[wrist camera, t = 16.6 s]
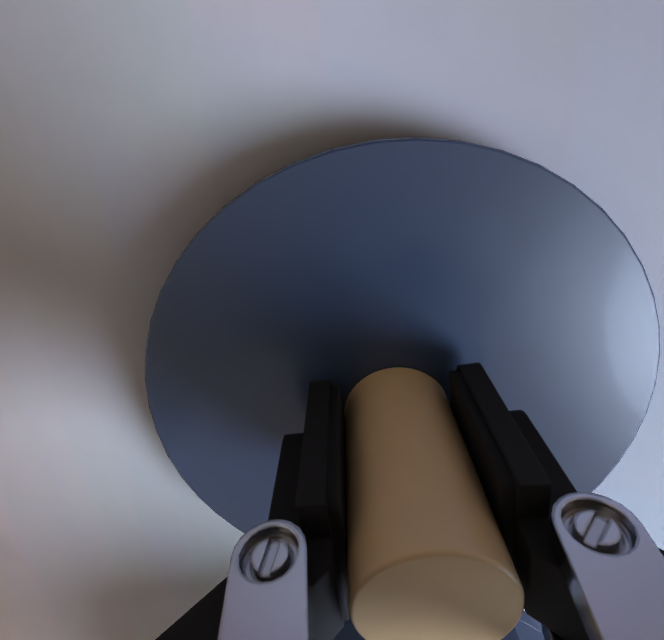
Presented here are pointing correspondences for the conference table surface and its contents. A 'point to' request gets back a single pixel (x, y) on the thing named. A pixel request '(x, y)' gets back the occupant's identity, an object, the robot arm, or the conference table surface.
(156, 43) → the conference table surface
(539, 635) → the pot
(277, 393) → the lid
